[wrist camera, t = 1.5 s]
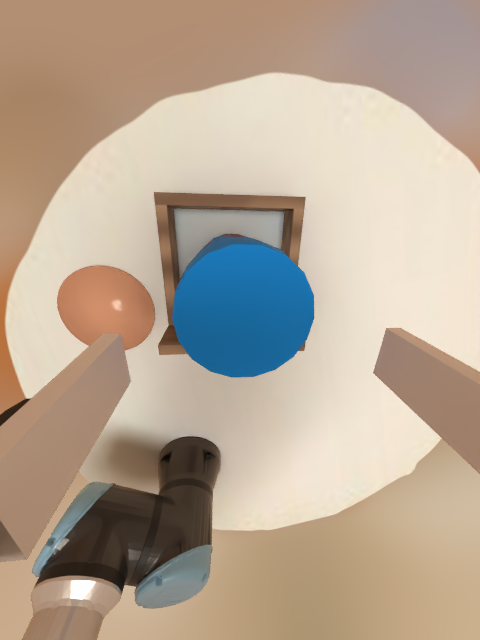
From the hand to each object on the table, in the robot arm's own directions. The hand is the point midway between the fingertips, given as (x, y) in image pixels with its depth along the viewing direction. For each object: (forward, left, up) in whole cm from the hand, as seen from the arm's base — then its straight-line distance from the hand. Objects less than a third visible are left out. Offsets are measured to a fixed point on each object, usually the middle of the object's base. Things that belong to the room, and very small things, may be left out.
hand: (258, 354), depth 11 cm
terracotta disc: (-8, +22, -30) cm, 38 cm away
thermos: (0, 0, -31) cm, 31 cm away
